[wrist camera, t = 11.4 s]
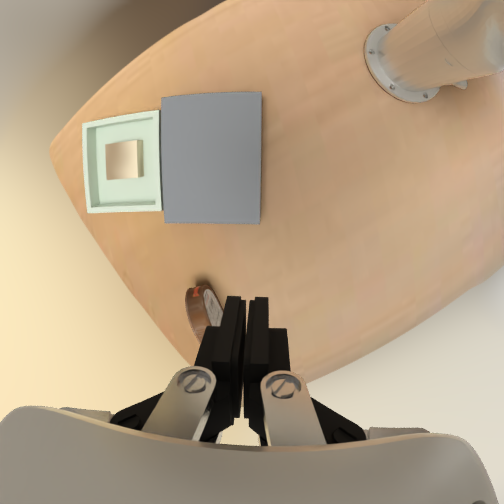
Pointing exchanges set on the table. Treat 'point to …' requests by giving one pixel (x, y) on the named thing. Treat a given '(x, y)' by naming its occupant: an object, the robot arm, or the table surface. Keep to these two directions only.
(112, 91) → the table surface
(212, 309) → the tin
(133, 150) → the block
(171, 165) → the plate
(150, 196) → the box
